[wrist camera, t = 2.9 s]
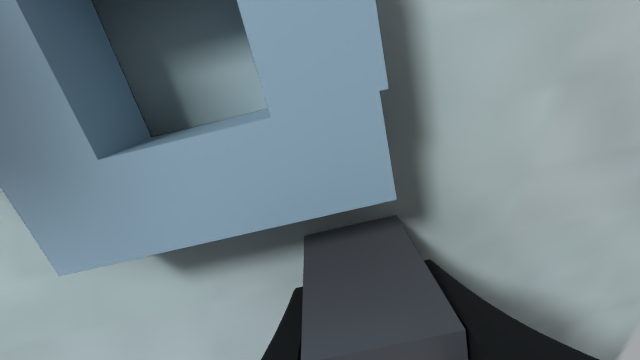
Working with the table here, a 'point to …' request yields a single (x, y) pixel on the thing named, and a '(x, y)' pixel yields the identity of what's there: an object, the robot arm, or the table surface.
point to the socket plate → (187, 134)
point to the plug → (374, 298)
